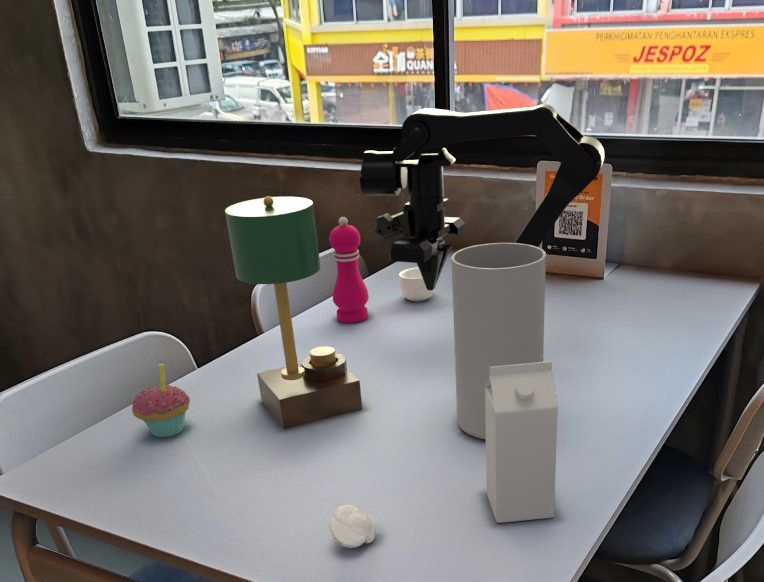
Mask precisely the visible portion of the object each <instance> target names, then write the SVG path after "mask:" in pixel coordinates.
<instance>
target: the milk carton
mask: <svg viewBox="0 0 764 582" xmlns="http://www.w3.org/2000/svg"><path fill="white" fill-rule="evenodd" d="M558 415H559V404H558V397H557V393H556V388H555V381H554V376H553V362H552V360H549V361H543V362H536V363H526V364H515V365H504V366H493V367H490V376H489V378H488V381H487V383H486V386H485V420H486V440H485V476H486V477H485V479H486V483H485V484H486V486H485V487H486V491H485V492H486V495H487V496H486V497H487V498H488V501H489V504H490V507H491V511H492V513H493V516H494V520H495V523H498V524H502V523H511V522H520V521H531V520H532V521H533V520H542V519H550V518H554V516H555V501H556V500H555V496H556V495H555V494H556V473H557V472H556V469H557V441H558Z"/></svg>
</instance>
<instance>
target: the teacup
mask: <svg viewBox="0 0 764 582" xmlns="http://www.w3.org/2000/svg"><path fill="white" fill-rule="evenodd" d="M398 282H399V289H400V291H401V294H402V296H403V297H404V298H406V299H407V300H408V301H411V302H423V301H426V300H428V299H430V298H431V297H432V296H433V295H434V292H435V290H436V288H435V289H434V290H432V291H431V290H427V288H426V286H425V283H424V280H423V278H422V275H421V272H420V270H419V267H410V268H406V269H403V270H402V271H400V272H399V274H398Z"/></svg>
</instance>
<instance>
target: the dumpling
mask: <svg viewBox="0 0 764 582" xmlns="http://www.w3.org/2000/svg"><path fill="white" fill-rule="evenodd" d="M328 528H329V531H330V534H331V536H332V538H333V539H334V544H336V543H337V544H338V545H339V546H341V547H343V548H347V549H355V548H359V547H360V546H362V545H363V544H371V543H372V542H374V540H375V539H376V534H377V533H376V531H377V530H376V527H375V525H374V523H373V521H372V519H371V518H370V516H369V515H368V514H367V513H366V512H365V511H364V510H363V509H361V508H359V507H356V506H354V505H352V504H344V505H340V506H338V508H336V510H335V511H334V513H333V517H332V518H331V519H330V520H329V523H328Z"/></svg>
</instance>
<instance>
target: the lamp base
mask: <svg viewBox="0 0 764 582" xmlns="http://www.w3.org/2000/svg"><path fill="white" fill-rule="evenodd" d="M335 354H336V363H334V364H333V365H329V366H325V367H316V366H312V365H311V359H310V355H308V356H307V357H305V358H303V359H302V361H301V362H300V363H298V366H300V367H303V368H304V369H305V376H304V377H303V378H300V379H297V380H285V379H283V378H282V376H281V371H282V370H283V369H285V368H286V366H283V367H278V368H275V369H269V370H265V371H261V372H257V373H256V375H257V376H256V377H257V383H258V389H259V394H260V400H261V403H262V404H263V405H264V406H265V408H266V409H267V410H268V411H269V412H270V414H271V415H272V416H273V418H274V419H275V420H276V421H277V423H278V424H279V425H280V426H281V427H282V429H283V430H288V429H292V428H295V427H299V426H303V425H307V424H311V423H314V422H318V421H322V420H326V419H327V420H328V419H330V418H334V417H338V416H339V417H340V416H342V415H347V414H350V413H355V412H358V411H361V410H363V403H362V402H363V401H362V391H361V382H360V381H361V380H360V379H358V377H357V376H355V375H354V374H353V373H351V372H350V371H349V370H348V364H347V358H346V356H344V355H343V354H342V353H337V352H335Z"/></svg>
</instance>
